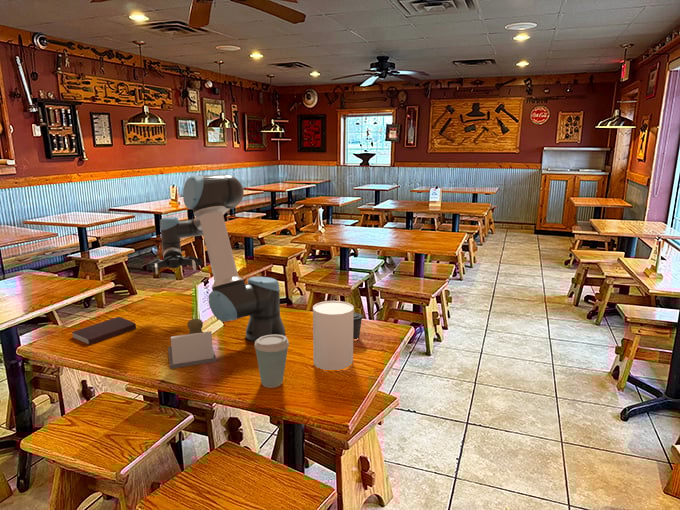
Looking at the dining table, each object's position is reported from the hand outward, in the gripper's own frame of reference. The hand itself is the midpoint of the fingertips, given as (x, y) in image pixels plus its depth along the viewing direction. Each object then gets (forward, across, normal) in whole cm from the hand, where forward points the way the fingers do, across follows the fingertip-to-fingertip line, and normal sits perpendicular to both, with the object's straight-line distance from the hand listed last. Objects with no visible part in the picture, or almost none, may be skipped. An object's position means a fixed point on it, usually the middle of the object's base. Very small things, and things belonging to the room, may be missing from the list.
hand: (176, 268), depth 173 cm
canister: (+42, -46, -29) cm, 69 cm away
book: (-16, +28, -28) cm, 42 cm away
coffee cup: (+25, -61, -28) cm, 72 cm away
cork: (+16, -4, -26) cm, 31 cm away
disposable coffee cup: (+48, -24, -29) cm, 61 cm away
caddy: (+18, -2, -28) cm, 33 cm away
